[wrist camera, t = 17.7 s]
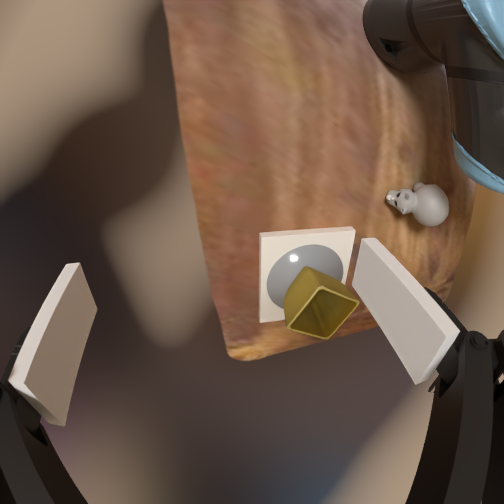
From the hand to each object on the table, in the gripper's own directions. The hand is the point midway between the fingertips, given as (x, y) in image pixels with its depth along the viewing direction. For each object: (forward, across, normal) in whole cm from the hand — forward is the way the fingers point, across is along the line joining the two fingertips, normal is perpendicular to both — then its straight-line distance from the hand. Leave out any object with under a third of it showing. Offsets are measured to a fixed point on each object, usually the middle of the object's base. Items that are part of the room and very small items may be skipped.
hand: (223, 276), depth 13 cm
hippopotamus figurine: (+29, +34, -7) cm, 45 cm away
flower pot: (+27, +15, -22) cm, 38 cm away
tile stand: (+29, +15, -22) cm, 39 cm away
